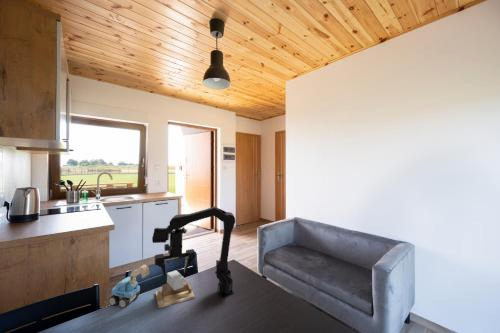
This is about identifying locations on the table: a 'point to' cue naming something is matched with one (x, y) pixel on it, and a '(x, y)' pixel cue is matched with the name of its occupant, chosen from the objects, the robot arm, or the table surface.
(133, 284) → the toy excavator
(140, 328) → the table surface
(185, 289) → the tan rectangular bar
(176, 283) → the light grey rectangular block
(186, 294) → the jig
